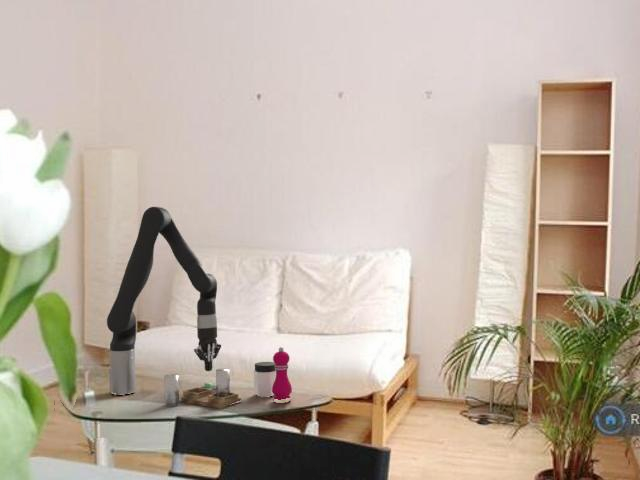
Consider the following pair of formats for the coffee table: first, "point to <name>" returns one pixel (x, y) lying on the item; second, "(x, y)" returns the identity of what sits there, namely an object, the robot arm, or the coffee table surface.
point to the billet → (171, 390)
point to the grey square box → (211, 388)
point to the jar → (264, 378)
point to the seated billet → (223, 382)
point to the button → (208, 385)
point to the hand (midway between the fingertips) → (208, 370)
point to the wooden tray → (208, 398)
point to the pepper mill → (281, 375)
